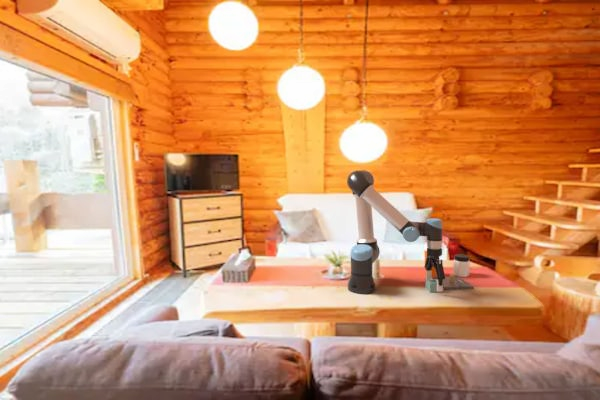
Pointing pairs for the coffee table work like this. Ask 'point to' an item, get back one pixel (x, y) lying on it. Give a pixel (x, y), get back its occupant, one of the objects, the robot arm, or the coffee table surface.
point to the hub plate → (455, 283)
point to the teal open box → (431, 285)
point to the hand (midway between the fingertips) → (434, 286)
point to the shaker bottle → (425, 261)
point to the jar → (461, 265)
